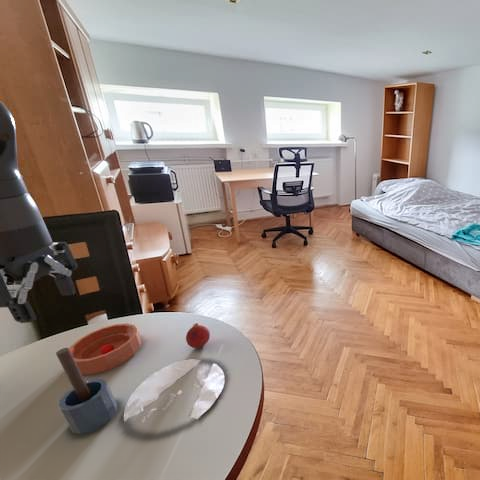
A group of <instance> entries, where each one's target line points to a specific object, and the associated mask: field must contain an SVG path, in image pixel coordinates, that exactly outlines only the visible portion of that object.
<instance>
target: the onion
mask: <svg viewBox="0 0 480 480" xmlns="http://www.w3.org/2000/svg"><path fill="white" fill-rule="evenodd" d="M185 335H186V336H185V341H186V343H187V345H188V346H189V347H190V348H192V349H200V348H202V347H204V346H205V345H206V344H207V343H208V342H209V340H210V336H211V332H210V330H209V328H207V327H206V326H204V325H201V324H199V323H198V322H195V323H193V325H192V327H190V328H189V330H188V331H187V333H186V334H185Z"/></svg>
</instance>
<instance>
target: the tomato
mask: <svg viewBox="0 0 480 480" xmlns="http://www.w3.org/2000/svg"><path fill="white" fill-rule="evenodd" d="M113 350H114V346H113V345H111V344H107V345H104V346H103V347H102V348H101V353H102V354H103V355H104V354H106V353H108V352H111V351H113Z"/></svg>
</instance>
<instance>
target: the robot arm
mask: <svg viewBox="0 0 480 480" xmlns="http://www.w3.org/2000/svg"><path fill="white" fill-rule="evenodd" d="M17 146H18V145H17V127H16V122H15V119H14V117H13V114H12V113H11V111H10V110H9V109H8V107H7V106H6V105H5V103H3V101H1V100H0V309H1V308H8V310H9V312H10V314H11V316H12V318H13V320H14V321H15V322H17V323H20V324H26V323H28V324H29V323H33V322H34V321H35V320H37V316H36V314H35V311H34V310H33V308H32V306H31V304H30V302H29V301H27V298H28V293H29V291H30V290H32V288H33V286H34V283H35V282H37V281H38V280H40V279H41V278H42V277H46V276H48V275H49V276H51V277H53V278H54V279H53V281H54V282H55V285H56V288H57V289H58V293H59V295H61V296H72V295H74V294H76V292H77V290H76V286H75V283H74V281H73V279H72V274H73V273H72V272H73V271H74V270H77V269H78V266H79V265H78V262H77V261H76V259H75V257H74V255H73V253H72V250H71V249H70V247H69V245H68V243H67V242H66V241H56V242H55V241H53V240H52V237H51V234H50V232H49V230H48V228H47V225H46V223H45V220H44V219H43V218H44V217H43V216H42V214H41V211H40V209H39V207H38V205H37V204H36V202H35V201H34V199H33V197H32V196H31V194H30V192H29V189H28V188H27V185H26V183H25V181H24V178H23V176H22V173H21V172H20V169H19V161H18V148H17ZM65 261H66V262H65ZM15 282H16V283H19V284H15ZM15 293H16V295H15Z"/></svg>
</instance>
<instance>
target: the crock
mask: <svg viewBox="0 0 480 480" xmlns="http://www.w3.org/2000/svg"><path fill="white" fill-rule="evenodd" d="M85 383H86V385H87V387H88V389H89V391H90V393H91V395H92V398H91V399H89V400H88V401H85V402H83V403H81V402H80V400H79V398H78V396H77V394H76V392H75V390H74V388H73V387H72V388H71V389H69V390H68V391H67V392H65V393H64V395H62V397H61V398H60V399H59V401H58V405H57V406H58V408H59V410H60V412H61V414H62V416H63V418H64V419H65V421H66V423H67V424H68V426H69V428H70V430H71V431H72V433H73V434H76V435H83V434H89V433H90V432H94V431H95V430H97V429H99V428H101V427H102V426H104V425H105V424H107V423H108V422H109V421H110V420H111V419H113V417H114V415H115V414H116V412H117V411H118V410H117V409H118V403H117V401H116V399H115V397H114V395H113V393H112V390H111V388H110V386H109V384H108V382H107V381H106V380H105V379H104V378H93V379H89V380H86V381H85Z"/></svg>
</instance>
